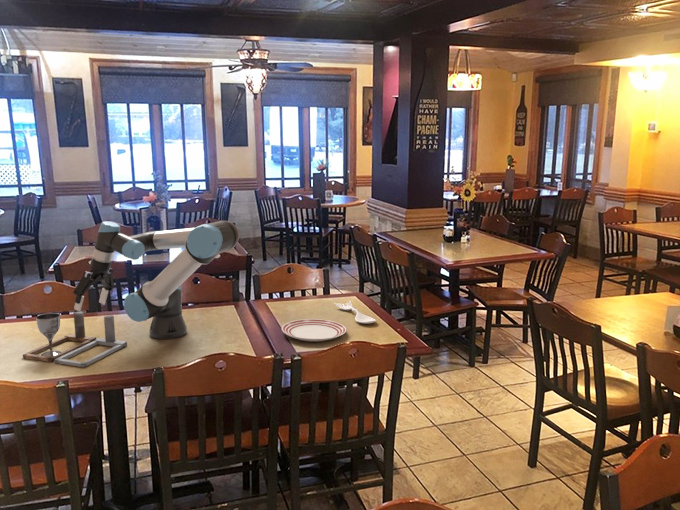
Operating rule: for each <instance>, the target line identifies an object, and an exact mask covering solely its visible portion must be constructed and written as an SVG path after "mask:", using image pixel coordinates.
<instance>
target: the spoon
mask: <svg viewBox="0 0 680 510" xmlns="http://www.w3.org/2000/svg"><path fill="white" fill-rule="evenodd" d="M333 303H334V305H335V306H336V307H337V308H339V309H341V310H344V311H352V312H355V314H356V315H355V317H354V320H355V321H356V322H357V323H359V324H363V325H364V324H365V325H366V324H373V323H375V322H377V319H375V318H373V317H371V316H369V315H366V314H364V313H362V312H360V311H359V309H358V308H355V307H354V306H353V303H352V301H351V300H349V302H348V301H347V302H345V303H340V302H339V303H338V302H337V303H336V302H333Z"/></svg>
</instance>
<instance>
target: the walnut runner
mask: <svg viewBox="0 0 680 510" xmlns="http://www.w3.org/2000/svg"><path fill="white" fill-rule="evenodd" d="M73 321H74V333H68V334H65V335H64V336H62V337H60V338H58V339H56V340H52V348H53V347H55V346H57V345H59V344H62V343H65V342H66V341H71V342H72V341H73V342H80V343H79V344H76V345H74V346H72V347H69V348H67V349H66V350H65V349H64V350H63V351H61V353H59V354H56V355H54V356H52V357H47V356H41V355H39V353H41V352H45V351H46V350H49V349H50V346H49V343H47V344H45V345H41V346H39V347H36V348H34V349H32V350H30V351H28V352H25V353H23V354H22V358H23V359H29V360H35V361H40V362H48V363H52V362H54V360H55V359H57V358H59V357H61V356H63V355H65V354H67V353H69V352H72V351H74V350H76V349H78V348H80V347H82V346H84V345H87V344H89V343H91V342H93V341H94V340H96V339H97V337H96V336H88V335H86V328H85V315H84V311H75V312H73Z"/></svg>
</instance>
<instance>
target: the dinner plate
mask: <svg viewBox="0 0 680 510" xmlns="http://www.w3.org/2000/svg"><path fill="white" fill-rule="evenodd" d="M281 331H282V332H283V334H285V335H286V336H288V337H290V338H293V339H297V340H298V341H302V342H303V341H304V342H311V343H313V342H314V343H317V342H319V343H321V342H325V341H330V340H334V339H336V338H338V337H341V336H343V335H345V334H346V332H347V328H346V326H345V325H343V324H341V323H340V322H337V321H333V320H329V319H320V318H303V319H302V318H301V319H296V320H295V319H294V320H292V321H288V322H286V323H284V324H283V325H282V326H281Z"/></svg>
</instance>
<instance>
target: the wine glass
mask: <svg viewBox="0 0 680 510" xmlns="http://www.w3.org/2000/svg"><path fill="white" fill-rule="evenodd" d="M35 319H36V325H37V329H38V331H39V332H40V334H42V335H43V336H44V337H45V338H46V339H47V341H48V344H49V346H50V348H49V350H47V351H43V352H42V353H41V355H40V356H47V357H52V356H54V355H56V354H59V353H61V352H62V350H57V349H56V350H55V349H54V350H53V347H52V342H53V339H54V336H55V335H56V334H57V333H58V332H59V330H60V325H61V315H60V313H57V312H46V313H42V314H38V315H37V316H36V318H35Z"/></svg>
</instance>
